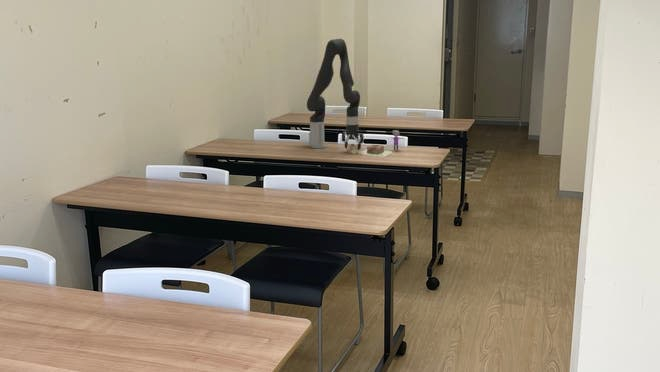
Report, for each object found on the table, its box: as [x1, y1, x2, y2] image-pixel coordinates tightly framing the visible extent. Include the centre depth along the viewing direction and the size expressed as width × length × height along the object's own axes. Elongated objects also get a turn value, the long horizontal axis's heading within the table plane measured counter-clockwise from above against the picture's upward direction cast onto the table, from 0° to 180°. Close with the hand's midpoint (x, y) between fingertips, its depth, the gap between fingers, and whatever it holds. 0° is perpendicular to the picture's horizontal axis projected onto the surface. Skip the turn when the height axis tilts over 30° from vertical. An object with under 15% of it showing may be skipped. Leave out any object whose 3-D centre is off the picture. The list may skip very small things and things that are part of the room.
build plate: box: [357, 148, 393, 158], centre depth 388 cm, size 18×14×2 cm
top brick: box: [346, 143, 359, 155], centre depth 388 cm, size 5×5×7 cm
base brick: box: [366, 143, 385, 155], centre depth 387 cm, size 8×8×4 cm
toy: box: [392, 129, 405, 152], centre depth 389 cm, size 10×6×15 cm, turn 84°
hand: (352, 148), depth 388 cm, fingers open, 8 cm apart
